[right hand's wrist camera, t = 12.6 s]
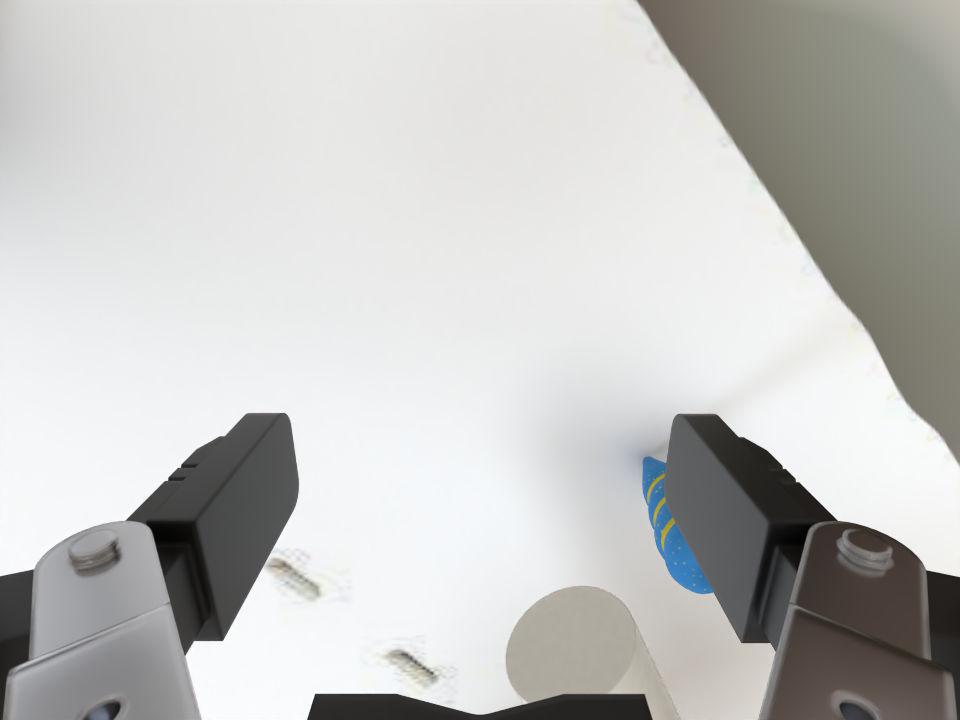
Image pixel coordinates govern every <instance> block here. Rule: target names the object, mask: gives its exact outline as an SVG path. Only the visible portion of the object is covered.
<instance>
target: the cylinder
mask: <svg viewBox="0 0 960 720" xmlns="http://www.w3.org/2000/svg"><path fill="white" fill-rule="evenodd" d="M506 670H507V675H508V679H509V681H510V684H511V686H512V688H513V689H514V691H515V693H516V694H517V696H518V697H519V699H520V701H521V702H522V704H523V705H524V704H527V703H531V702H535V701H539V700H543V699H546V698H550V697H554V696H558V695H561V694H645V696H646V700H647V703H648V706H649V709H650V712H651V716H652V719H653V720H681V719H680V716H679V714H678V712H677V710H676V708H675V706H674V704H673V702H672V700H671V697H670V695H669V693H668V691H667V689H666V687H665V685H664V683H663V680H662V678H661V676H660V674H659V672H658V670H657V668H656V666H655V664H654V661H653V659H652V657H651V655H650V653H649V651H648V649H647V647H646V645H645V642H644V640H643V638H642V636H641V634H640V632H639V630H638V628H637V626H636V623H635V621H634V619H633V617H632V615H631V613H630V611H629V610H628V608H627V607H626V606H625V604H624V603H623V602H622V601H621V600H620V599H618V598H617V597H616V596H614V595H613V594H611V593H610V592H608V591H605V590H603V589H600V588H596V587H590V586H574V587H568V588H564V589H561V590H558V591H555V592H553V593H551V594H549V595H547V596H545V597H543V598H542V599H540V600H539V601H537V602H536V603H535V604H534V605H533V606H531V607H530V608H529V609H528V610H527V611H526V612H525V613H524V615H523V616H522V617H521V618H520V620H519V621H518V623H517V624H516V626H515V628H514V630H513V631H512V634H511V636H510V639H509V642H508V646H507V651H506Z"/></svg>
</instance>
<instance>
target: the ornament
mask: <svg viewBox="0 0 960 720" xmlns="http://www.w3.org/2000/svg"><path fill="white" fill-rule="evenodd" d="M665 470H666V463H663V462H661V461H658V460H656V459H653V458H651V457H646V458H644V460H643V494H644V498H645V500H646V503H647V505H648V506H649V519H650V522H651V525H652V527H653V529H654V531H655V541H656V545H657V548H658V550H659V552H660V554H661V555H662V557H663V558H664V559H665V562H666V566H667V568H668V570H669V573H670V574H671V576H672V577H673V578H674V579H675V580H676V581H677V582H678V583H679V584H680V585H682V586H683V587H685V588H686V589H688V590H691V591H693V592H695V593H700V594H707V593H713V590H712V588H711V586H710V585H709V583H708V581H707V579H706V577H705V576H704V574H703V572H702V570H701V568H700V566H699V565H698V563H697V561H696V559H695V557H694V555H693V554H692V552H691V550H690V548H689V546H688V544H687V543H686V541H685V539H684V537H683V535H682V534H681V532H680V530H679V528H678V526H677V524H676V523H675V521H674V519H673V517H672V515H671V513H670V512H669V510H668V507H667V504H666V500H665V494H664V477H665Z"/></svg>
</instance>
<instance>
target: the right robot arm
mask: <svg viewBox="0 0 960 720" xmlns="http://www.w3.org/2000/svg"><path fill="white" fill-rule="evenodd" d="M298 491H299V478H298V471H297V463H296V456H295V449H294V442H293V435H292V428H291V423H290V419H289V417H288V415H287V414H285V413H248V414H246V415H245V416H244V417H243V418H242V419H241V420H240V421H239V422H238V423H237V424H236V425H235V426H234V427H233V428H232V429H231V430H230V431H229V433H228V434H227V435H226V436H220V437H218V438H216V439H214V440H213V441H211V442H209V443H207V444H205V445H204V446H202V447H200V448H198V449H197V450H196V451H195V452H194V453H193V454H192V455H191V456H190V457H189V458H188V459H187V460H186V461H185V462H184V463H183V464H182V465H181V468H178V469H177V470H176V471H175V472H174V473H173V474H172V475H171V476H170V477H169V478H168V481H165V482H164V483H163V484H162V485H161V486H160V487H159V488H158V489H157V490H156V491H155V492H154V493H153V494H152V495H151V496H150V497H149V498H148V499H147V500H146V501H145V502H144V503H143V504H142V505H141V506H140V507H139V508H138V509H137V510H136V511H135V512H134V513H133V514H132V515H131V516H130V517H129V518H128V519H127V520H126V521H118V522H111V523H106V524H102V525H98V526H94V527H91V528H89V529H86V530H83V531H81V532H79V533H76V534H74V535H72V536H70V537H68V538H67V539H65V540H63V541H62V542H60V543H58V544H57V545H55V546H54V547H53V548H51V549H50V550H49V551H48V552H47V553H46V554H45V555H44V556H43V557H42V558H41V559H40V560H39V562H38V563H37V565H36V567H35V569H34V570H29V571H24V572H19V573H14V574H10V575H5V576H0V720H202V719H201V715H200V711H199V707H198V704H197V700H196V696H195V692H194V688H193V684H192V681H191V677H190V673H189V669H188V665H187V662H186V658H185V655H186V654H187V652H188V650H189V649H190V647H191V645H192V644H193V642H194V641H223V640H224V638H225V636H226V634H227V632H228V631H229V629H230V627H231V625H232V623H233V621H234V619H235V618H236V616H237V614H238V612H239V610H240V608H241V606H242V605H243V603H244V601H245V599H246V597H247V595H248V594H249V592H250V590H251V588H252V586H253V584H254V582H255V581H256V579H257V577H258V575H259V573H260V571H261V569H262V568H263V566H264V564H265V562H266V560H267V558H268V557H269V555H270V553H271V551H272V549H273V547H274V545H275V544H276V542H277V540H278V538H279V536H280V534H281V532H282V531H283V529H284V527H285V525H286V523H287V521H288V520H289V518H290V516H291V514H292V512H293V510H294V508H295V506H296V502H297V498H298ZM664 494H665V500H666V504H667V507H668V510H669V512H670V513H671V515H672V517H673V519H674V521H675V523H676V524H677V526H678V528H679V530H680V532H681V534H682V535H683V537H684V539H685V541H686V543H687V544H688V546H689V548H690V550H691V552H692V554H693V555H694V557H695V559H696V561H697V563H698V565H699V566H700V568H701V570H702V572H703V574H704V576H705V577H706V579H707V581H708V583H709V585H710V586H711V588H712V590H713V592H714V594H715V596H716V597H717V599H718V601H719V603H720V605H721V607H722V608H723V610H724V612H725V614H726V616H727V618H728V619H729V621H730V623H731V625H732V627H733V629H734V630H735V632H736V634H737V636H738V638H739V639H740V641H741V643H771V645H772V646H773V648H774V650H775V651H776V654H775V658H774V662H773V665H772V669H771V673H770V677H769V681H768V684H767V688H766V692H765V696H764V700H763V704H762V707H761V711H760V715H759V719H758V720H960V577H956V576H951V575H946V574H942V573H937V572H932V571H927V570H926V569H925V567H924V565H923V563H922V562H921V560H920V559H919V558H918V557H917V556H916V555H915V554H914V553H913V552H912V551H911V550H910V549H909V548H907V547H906V546H905V545H903V544H902V543H900V542H898V541H897V540H895V539H893V538H892V537H890V536H888V535H886V534H884V533H881V532H879V531H877V530H874V529H871V528H869V527H866V526H862V525H858V524H854V523H849V522H842V521H838V520H837V519H835V518H834V517H833V516H832V515H831V514H830V513H829V512H828V511H827V510H826V509H825V508H824V507H823V506H822V505H821V504H820V503H819V502H818V501H817V500H816V499H815V498H814V497H813V496H812V495H811V494H810V493H809V492H808V491H807V490H806V489H805V488H804V487H803V486H802V485H801V484H800V483H799V482H796V479H795V478H794V477H793V476H792V475H791V474H790V473H789V472H788V471H787V470H786V469H783V466H782V465H781V464H780V463H779V462H778V461H777V460H776V459H775V458H774V457H773V456H772V455H771V454H770V453H769V452H768V451H767V450H765V449H763V448H762V447H760V446H758V445H756V444H755V443H753V442H751V441H749V440H747V439H746V438H744V437H738V436H737V435H736V434H735V433H734V432H733V431H732V430H731V429H730V428H729V427H728V426H727V425H726V423H725V422H724V421H723V420H722V419H721V418H720V417H719V416H718V415H716V414H677V415H676V416H675V418H674V420H673V423H672V428H671V435H670V442H669V449H668V456H667V463H666V470H665V477H664ZM307 720H653V719H652V716H651V712H650V709H649V706H648V703H647V700H646V696H645V694H561V695H558V696H554V697H550V698H546V699H543V700H539V701H535V702H531V703H527V704H524V705H520V706H516V707H512V708H509V709H505V710H501V711H497V712H493V713H490V714H484V715H476V714H470V713H467V712H463V711H459V710H455V709H451V708H448V707H444V706H440V705H436V704H433V703H429V702H425V701H421V700H417V699H414V698H410V697H406V696H402V695H399V694H315V696H314V700H313V703H312V706H311V709H310V712H309V716H308V719H307Z"/></svg>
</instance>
